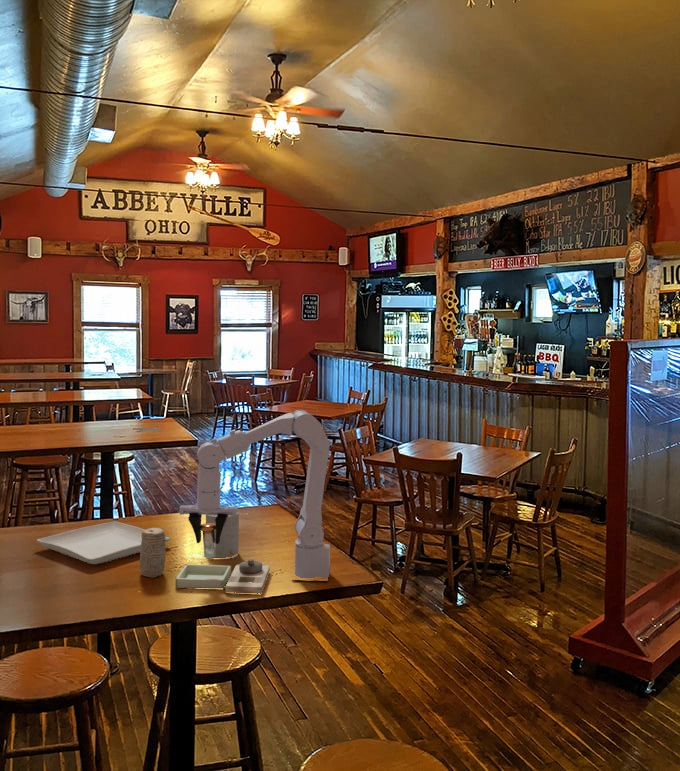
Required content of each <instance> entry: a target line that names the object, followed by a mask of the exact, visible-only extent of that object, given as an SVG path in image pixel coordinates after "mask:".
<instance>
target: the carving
mask: <svg viewBox="0 0 680 771" xmlns="http://www.w3.org/2000/svg"><path fill="white" fill-rule="evenodd" d="M141 537H142V542H141V551H140V553H139V554H140V555H139V571H140V572H139V573H140V574H141V575H142V576H144V577H146V578H150V579H151V578H152V579H153V578H158V577H161V576H162V575H163V573H164V570H165V565H166V543H165V541H166V537H167V536H166V533H165V531H164V529H163V528H161V527H149V528H147V529H145V530H144V531H143V532H142V535H141ZM157 576H158V577H157Z"/></svg>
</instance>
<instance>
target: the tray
mask: <svg viewBox="0 0 680 771" xmlns="http://www.w3.org/2000/svg"><path fill="white" fill-rule="evenodd" d="M230 574H232V565H224V564H223V565H222V564H221V565H218V564H217V565H215V564H189V563H188V564H187V563H186V564H185V565H184V566H183V568H182V569H181V571H180V572H179V573H178V574H177V576H176V578H175V589H176V588H192V589H191V590H194V589H193V588H224V586H225V584H226V582H227V580H228V578H229V576H230ZM224 589H225V588H224Z"/></svg>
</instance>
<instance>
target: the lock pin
mask: <svg viewBox="0 0 680 771" xmlns="http://www.w3.org/2000/svg"><path fill="white" fill-rule="evenodd" d="M215 529H216V524H215V523H206V522H205V523H201V525H200V530H201V532H202V542H203V555H204V556H203V557H204V558H206V559H209V558H212V557H215V556H216V545H215Z"/></svg>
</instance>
